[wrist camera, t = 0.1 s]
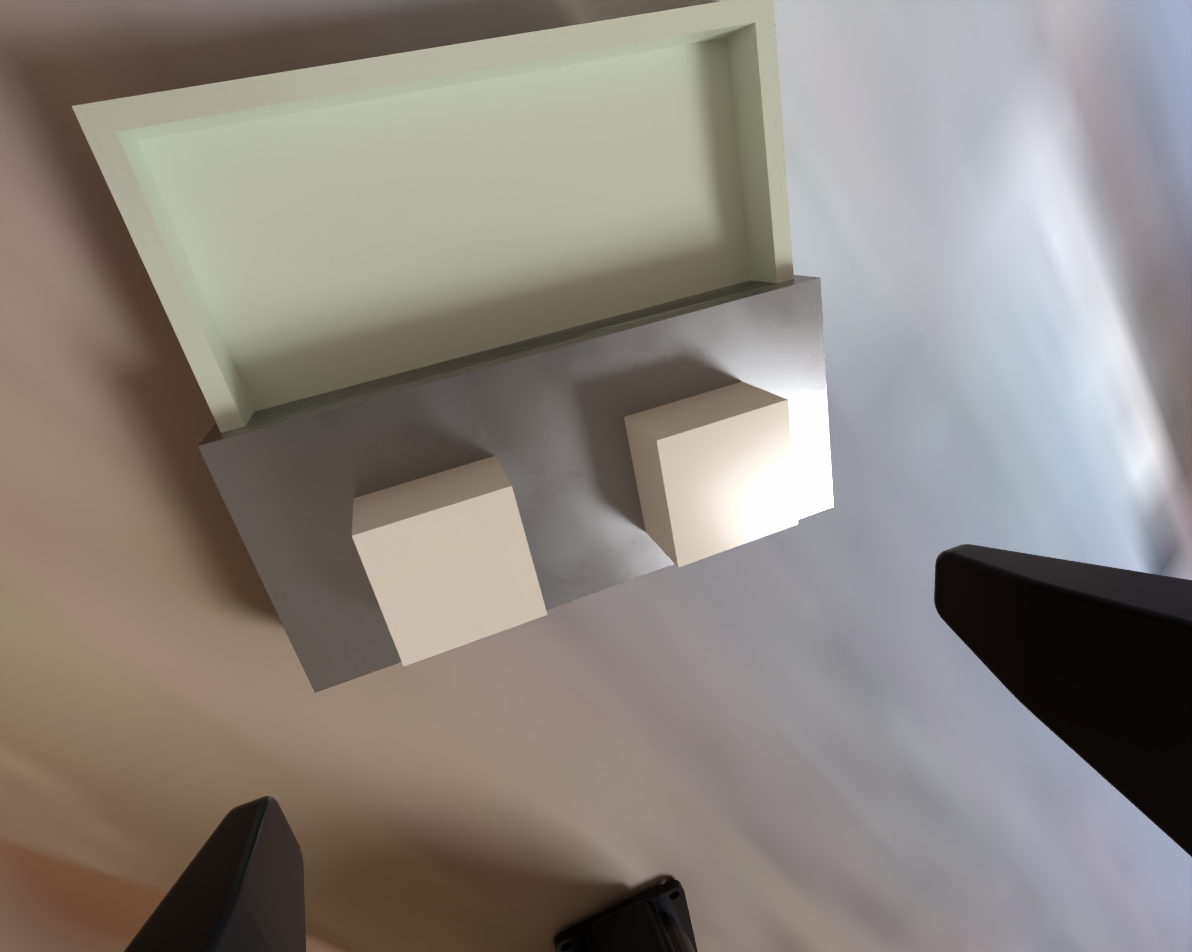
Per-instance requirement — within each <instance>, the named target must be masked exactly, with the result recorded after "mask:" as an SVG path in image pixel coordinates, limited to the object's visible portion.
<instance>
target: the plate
mask: <svg viewBox="0 0 1192 952" xmlns="http://www.w3.org/2000/svg"><path fill="white" fill-rule="evenodd" d="M772 284H773V285H772ZM769 285H770V286H769ZM760 286H761V288H760ZM765 286H766V287H765ZM756 288H757V289H756ZM751 289H752V290H751ZM753 289H755V290H753ZM746 290H747V291H746ZM750 290H751V291H750ZM744 291H745V292H744ZM740 292H741V293H740ZM742 292H743V293H742ZM739 293H740V294H739ZM733 294H736V295H733ZM725 296H727V297H725ZM728 296H729V297H728ZM721 297H722V298H721ZM723 297H725V298H723ZM719 298H721V299H719ZM714 299H718V300H714ZM710 300H713V301H710ZM706 301H709V302H706ZM703 302H704V303H703ZM705 302H706V303H705ZM699 303H703V304H699ZM693 304H694V305H695V304H697V305H695V306H691V307H688V308H687V306H689V305H693ZM698 304H699V305H698ZM679 307H680V308H682V307H685V308H683V309H680V308H679ZM675 308H676V310H677V308H678V309H680V310H677V311H673V312H670V310H671V311H672V310H675ZM665 311H666V312H668V311H669V313H665ZM663 312H664V313H665V314H662V315H658V316H654V317H651V316H652V315H654V314H660V313H663ZM647 315H648V317H650V318H647V319H645V316H646V317H647ZM643 317H644V319H643V320H639V321H635V322H632V323H628V322H630V321H631V320H632V321H633V320H637V319H640V318H643ZM625 322H627V323H628V324H624V325H623V324H622V323H625ZM612 324H613V325H615V324H618V325H619V324H620V326H618V325H616V326H617V327H616V326H615V327H613V325H612ZM621 324H622V325H621ZM610 325H611V326H612V328H611V327H610V329H608V328H609V326H610ZM607 326H608V328H606V327H607ZM603 327H604V329H605V330H604V329H602V330H600V329H598V328H603ZM597 329H598V330H599V331H597ZM591 330H592V331H591ZM593 330H595V331H596V332H595V331H593ZM584 331H585V333H583V332H584ZM593 332H594V333H593ZM578 333H580V334H578ZM581 333H582V334H581ZM586 333H589V334H587V335H586ZM590 333H591V334H590ZM573 334H574V335H573ZM576 334H577V335H576ZM562 338H563V339H562ZM739 382H745V383H747V384H750V385H752V386H755V387H757V388H760V389H762V390H765V391H767V392H770V393H773V394H775V395H778V396H780V397H783V398H785V399H788V408H789V420H790V432H791V444H792V456H793V468H794V480H795V492H796V504H797V516H798V519H801V518H804V517H807V516H809V515H812V514H815V513H818V512H821V511H823V510H826V509H829V508H832V507H834V506H833V489H832V472H831V455H830V438H829V421H828V403H827V386H826V369H825V352H824V335H823V318H822V300H821V283H820V278H819V277H809V276H799V275H794V279H792V280H788V281H785V282H781V283H769V282H761V281H753V280H750V281H746V282H742V283H738V284H735V285H731V286H727V287H723V288H720V289H716V290H712V291H708V292H704V293H701V294H697V295H693V296H689V297H686V298H682V299H678V300H674V301H670V302H667V303H663V304H659V305H655V306H652V307H648V308H644V309H640V310H636V311H633V312H629V313H625V314H621V315H618V316H614V317H610V318H606V319H602V320H599V321H595V322H591V323H587V324H584V325H580V326H576V327H572V328H568V329H565V330H561V331H557V332H553V333H550V334H546V335H542V336H538V337H534V338H531V339H527V340H523V341H519V342H516V343H512V344H508V345H504V346H500V347H497V348H493V349H489V350H485V351H482V352H478V353H474V354H470V355H466V356H463V357H459V358H455V359H451V360H448V361H444V362H440V363H436V364H432V365H429V366H425V367H421V368H417V369H414V370H410V371H406V372H402V373H398V374H395V375H391V376H387V377H383V378H380V379H376V380H372V381H368V382H364V383H361V384H357V385H353V386H349V387H346V388H342V389H338V390H334V391H330V392H327V393H323V394H319V395H315V396H312V397H308V398H304V399H300V400H297V401H293V402H289V403H285V404H281V405H278V406H274V407H270V408H266V409H263V410H259V411H255V412H254V413H253V415H252V416H251V418H250V419H249V421H248V422H247V424H246V426H245V427H241V428H237V429H233V430H230V431H226V432H222V433H221V432H220V430H219V428H218V425H217V423H216V424H215V425H214V426H213V427H212V429H211V430H210V431H209V432H208V434H207V435H206V436H205V437H204V439H203V440H202V441H201V442H200V444H199V445H198V448H199V450H200V452H201V455H202V457H203V459H204V461H205V463H206V465H207V467H208V469H209V471H210V473H211V476H212V478H213V480H214V482H215V484H216V486H217V488H218V490H219V492H220V494H221V497H222V499H223V501H224V503H225V505H226V507H227V509H228V511H229V513H230V515H231V517H232V520H233V522H234V524H235V526H236V528H237V530H238V532H239V534H240V536H241V538H242V541H243V543H244V545H245V547H246V549H247V551H248V553H249V555H250V557H251V559H252V562H253V564H254V566H255V568H256V570H257V572H258V574H259V576H260V578H261V580H262V583H263V585H264V587H265V589H266V591H267V593H268V595H269V597H270V599H271V601H272V604H273V606H274V608H275V610H276V612H277V614H278V616H279V618H280V620H281V622H282V625H283V627H284V629H285V631H286V633H287V635H288V637H289V639H290V641H291V643H292V646H293V648H294V650H295V652H296V654H297V656H298V658H299V660H300V662H301V664H302V667H303V669H304V671H305V673H306V675H307V677H308V679H309V681H310V683H311V685H312V688H313V690H314V692H315V693H316V692H318V691H321V690H324V689H327V688H330V687H332V686H335V685H338V684H341V683H343V682H346V681H349V680H352V679H355V678H357V677H360V676H363V675H366V674H369V673H371V672H374V671H377V670H380V669H383V668H385V667H388V666H391V665H394V664H397V663H399V662H402V661H401V659H400V656H399V654H398V651H397V649H396V646H395V644H394V641H393V639H392V636H391V634H390V631H389V629H388V626H387V624H386V621H385V618H384V616H383V613H382V611H381V608H380V606H379V603H378V601H377V598H376V596H375V593H374V591H373V588H372V586H371V583H370V581H369V578H368V576H367V573H366V571H365V568H364V566H363V563H362V561H361V558H360V556H359V553H358V551H357V548H356V546H355V543H354V541H353V538H352V521H353V503H354V498H357V497H360V496H363V495H367V494H370V493H373V492H377V491H380V490H383V489H386V488H390V487H393V486H396V485H400V484H403V483H406V482H410V481H413V480H416V479H420V478H423V477H426V476H430V475H433V474H436V473H440V472H443V471H446V470H450V469H453V468H456V467H460V466H463V465H466V464H470V463H473V462H476V461H480V460H483V459H486V458H490V457H493V456H495V457H496V459H497V460H498V462H499V464H500V466H501V467H502V469H503V471H504V473H505V475H506V476H507V478H508V480H509V482H510V483H511V485H512V488H513V492H514V495H515V499H516V503H517V506H518V510H519V513H520V517H521V521H522V524H523V528H524V532H525V535H526V539H527V542H528V546H529V550H530V553H531V557H532V561H533V564H534V568H535V571H536V575H537V579H538V582H539V586H540V590H541V593H542V597H543V600H544V604H545V608H546V610H547V609H550V608H553V607H556V606H558V605H561V604H564V603H567V602H569V601H572V600H575V599H578V598H581V597H583V596H586V595H589V594H592V593H595V592H597V591H600V590H603V589H606V588H609V587H611V586H614V585H617V584H620V583H623V582H625V581H628V580H631V579H634V578H636V577H639V576H642V575H645V574H648V573H650V572H653V571H656V570H659V569H662V568H664V567H667V566H670V565H673V564H675V563H674V562H673V561H672V560H671V559H670V558H669V557H668V556H667V555H666V554H665V553H664V551H663V550H662V549H661V548H660V547H659V546H658V545H657V544H656V543H655V542H654V541H653V540H652V538H651V537H650V536H649V535H648V534H647V533H646V530H645V525H644V520H643V514H642V509H641V504H640V499H639V493H638V488H637V483H636V478H635V472H634V467H633V462H632V457H631V452H630V446H629V441H628V436H627V431H626V425H625V420H624V417H626V416H629V415H632V414H636V413H639V412H642V411H646V410H649V409H652V408H656V407H659V406H662V405H666V404H669V403H672V402H676V401H679V400H682V399H686V398H689V397H692V396H696V395H699V394H702V393H706V392H709V391H712V390H716V389H719V388H722V387H726V386H729V385H732V384H736V383H739Z"/></svg>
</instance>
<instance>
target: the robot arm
mask: <svg viewBox="0 0 1192 952" xmlns="http://www.w3.org/2000/svg"><path fill="white" fill-rule="evenodd" d="M934 603H935V607H936V609H937V612H938V613H939V615H940V617H941V618H942V619H943V620H944V621H945V622H946V624H947V625H948V626H949V627H950V628H951V629H952V630H953V631H954V632H955V633H956V634H957V635H958V636H959V637H960V639H961V640H962V641H963V642H964V643H965V644H966V645H967V646H968V647H969V648H970V649H971V650H972V651H973V652H974V654H975V655H976V656H977V657H978V658H979V659H980V660H981V661H982V662H983V663H984V664H985V665H986V666H987V667H988V669H989V670H990V671H991V672H992V673H993V674H994V675H995V676H996V677H997V678H998V679H999V680H1000V681H1001V682H1002V684H1003V685H1004V686H1005V687H1006V688H1007V689H1008V690H1009V691H1010V692H1011V693H1012V694H1013V695H1014V696H1015V697H1016V698H1017V699H1018V700H1019V701H1020V702H1021V703H1022V704H1023V705H1024V706H1025V707H1026V708H1027V709H1028V710H1029V711H1031V712H1032V713H1033V714H1034V715H1035V716H1036V717H1037V718H1038V719H1039V720H1040V721H1041V722H1043V723H1044V724H1045V725H1046V726H1047V727H1048V728H1049V729H1050V730H1051V731H1053V732H1054V733H1055V734H1056V735H1057V736H1058V737H1059V738H1060V739H1061V740H1063V741H1064V742H1065V743H1066V744H1067V745H1068V746H1069V747H1070V748H1071V749H1073V750H1074V751H1075V752H1076V753H1077V754H1078V755H1079V756H1080V757H1081V758H1083V759H1084V760H1085V761H1086V762H1087V763H1088V764H1089V765H1090V766H1091V767H1092V768H1094V769H1095V770H1096V771H1097V772H1098V773H1099V774H1100V775H1101V776H1102V777H1104V778H1105V779H1106V780H1107V781H1108V782H1109V783H1110V784H1111V785H1112V786H1114V787H1115V788H1116V789H1117V790H1118V791H1119V792H1120V793H1121V794H1122V795H1124V796H1125V797H1126V798H1127V799H1128V800H1129V801H1130V802H1131V803H1132V804H1134V805H1135V806H1136V807H1137V808H1138V809H1139V810H1140V811H1141V812H1142V813H1144V814H1145V815H1146V816H1147V817H1148V818H1149V819H1150V820H1151V821H1152V822H1154V823H1155V824H1156V825H1157V826H1158V827H1159V828H1160V829H1161V830H1162V831H1164V832H1165V833H1166V834H1167V835H1168V836H1169V837H1170V838H1171V839H1172V840H1174V841H1175V842H1176V843H1177V844H1178V845H1179V846H1180V847H1181V848H1182V849H1184V850H1185V851H1186V852H1187V853H1188V854H1189V855H1190V856H1191V857H1192V580H1186V579H1180V578H1174V577H1168V576H1162V575H1155V574H1149V573H1143V572H1137V571H1131V570H1125V569H1118V568H1112V567H1106V566H1100V565H1094V564H1088V563H1081V562H1075V561H1069V560H1063V559H1057V558H1051V557H1044V556H1038V555H1032V554H1026V553H1020V552H1014V551H1007V550H1001V549H995V548H989V547H983V546H977V545H970V544H964V545H960V546H957V547H954V548H951V549H949V550H946V551H943V552H942V553H940V554H939V555H938V557H937V559H936V565H935V591H934ZM554 947H555V950H556V952H697V947H696V943H695V938H694V934H693V929H692V925H691V920H690V915H689V911H688V906H687V902H686V897H685V893H684V890H683V888H682V885H681V883H680V882H679V881H678V880H672V881H669V882H667V883H665V884H663V885H661V886H658V887H656V888H654V889H652V890H650V891H648V892H646V893H644V894H641V895H639V896H637V897H635V898H633V899H631V900H629V901H626V902H624V903H622V904H620V905H618V906H616V907H614V908H612V909H609V910H607V911H605V912H603V913H601V914H599V915H597V916H595V917H592V918H590V919H588V920H586V921H584V922H582V923H580V924H578V925H575V926H573V927H571V928H569V929H567V930H565V931H563V932H561V933H559V934H558V935H557V936H556V937H555V939H554ZM124 952H306V938H305V904H304V870H303V859H302V854H301V850H300V846H299V844H298V842H297V840H296V838H295V836H294V834H293V832H292V830H291V828H290V826H289V824H288V822H287V820H286V818H285V816H284V814H283V812H282V810H281V808H280V806H279V804H278V802H277V801H276V800H275V799H274V798H273V797H269V796H265V797H262V798H259V799H256V800H254V801H251V802H248V803H245V804H242V805H240V806H237V807H235V808H233V809H232V810H231V811H230V812H229V813H228V814H227V815H226V816H225V818H224V819H223V820H222V822H221V823H220V824H219V826H218V827H217V828H216V830H215V831H214V832H213V834H212V835H211V836H210V838H209V839H208V840H207V842H206V843H205V844H204V846H203V847H202V848H201V850H200V851H199V852H198V854H197V855H196V856H195V858H194V859H193V860H192V862H191V863H190V864H189V866H188V867H187V868H186V870H185V871H184V872H183V874H182V875H181V876H180V878H179V879H178V880H177V881H176V883H175V884H174V885H173V887H172V888H171V889H170V891H169V892H168V893H167V895H166V896H165V897H164V899H163V900H162V901H161V903H160V904H159V905H158V907H157V908H156V910H155V911H154V912H153V913H152V915H151V916H150V917H149V919H148V920H147V921H146V923H145V924H144V925H143V927H142V928H141V929H140V931H139V932H138V933H137V935H136V936H135V937H134V939H133V940H132V941H131V943H130V944H129V945H128V947H127V948H126V949H125V951H124Z"/></svg>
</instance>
